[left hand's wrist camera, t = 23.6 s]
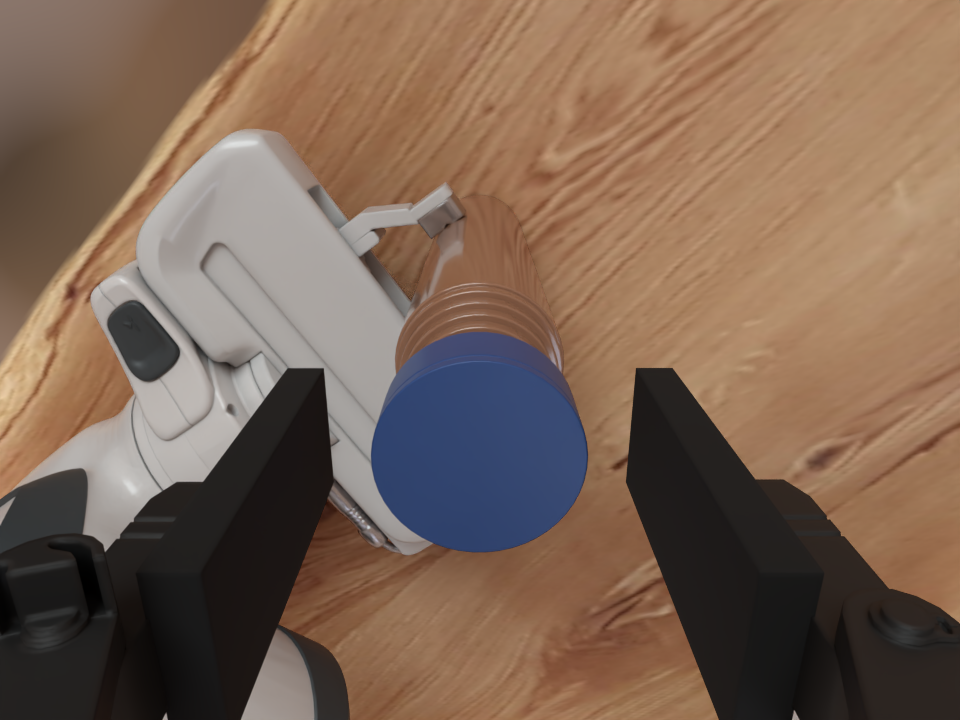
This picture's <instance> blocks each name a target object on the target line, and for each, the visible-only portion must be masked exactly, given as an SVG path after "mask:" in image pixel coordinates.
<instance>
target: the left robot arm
mask: <svg viewBox="0 0 960 720" xmlns="http://www.w3.org/2000/svg"><path fill="white" fill-rule="evenodd" d="M333 483H334V477H333V465H332V454H331V443H330V431H329V420H328V409H327V397H326V386H325V375H324V368H287V370H286V371H285V372H284V374H283V375H282V376H281V378H280V379H279V380H278V382H277V383H276V384H275V386H274V387H273V388H272V390H271V391H270V392H269V394H268V395H267V396H266V398H265V399H264V400H263V402H262V403H261V405H260V406H259V407H258V409H257V410H256V411H255V413H254V414H253V415H252V417H251V418H250V419H249V421H248V422H247V423H246V425H245V426H244V427H243V429H242V430H241V431H240V433H239V434H238V435H237V437H236V438H235V439H234V441H233V442H232V444H231V445H230V446H229V448H228V449H227V450H226V452H225V453H224V454H223V456H222V457H221V458H220V460H219V461H218V462H217V464H216V465H215V466H214V468H213V469H212V470H211V472H210V473H209V474H208V476H207V477H206V478H205V480H204V481H203V482H176V483H174V484H173V485H171V486H169V487H168V488H166V489H165V490H163V491H162V492H160V493H158V494H157V495H155V496H154V497H152V498H150V500H149V501H148V502H147V503H146V504H145V506H144V507H143V508H142V509H141V510H140V511H139V513H138V514H137V515H136V516H135V517H134V522H130V523H129V524H128V526H127V527H126V528H125V529H124V530H123V532H122V533H121V534H120V538H119V539H116V540H115V541H114V542H113V543H112V545H111V546H110V547H109V548H108V549H107V550H106V552H105V550H104V545H103V544H102V543H101V542H100V541H99V540H97V539H96V538H95V537H93V536H89V535H84V534H78V533H68V534H55V535H50V536H46V537H42V538H38V539H34V540H30V541H27V542H25V543H22V544H20V545H18V546H16V547H13V548H11V549H9V550H6V551H4V552H2V553H1V554H0V720H163V718H164V716H165V714H167V718H168V720H241V718H242V716H243V713H244V711H245V708H246V705H247V703H248V700H249V698H250V695H251V693H252V690H253V688H254V685H255V682H256V680H257V677H258V675H259V672H260V670H261V667H262V665H263V662H264V659H265V657H266V654H267V652H268V649H269V647H270V644H271V642H272V639H273V636H274V634H275V631H276V629H277V626H278V624H279V621H280V619H281V616H282V614H283V611H284V608H285V606H286V603H287V601H288V598H289V596H290V593H291V591H292V588H293V585H294V583H295V580H296V578H297V575H298V573H299V570H300V568H301V565H302V562H303V560H304V557H305V555H306V552H307V550H308V547H309V545H310V542H311V539H312V537H313V534H314V532H315V529H316V527H317V524H318V522H319V519H320V517H321V514H322V511H323V509H324V506H325V504H326V501H327V499H328V496H329V494H330V491H331V488H332V486H333ZM626 483H627V486H628V488H629V491H630V494H631V496H632V499H633V501H634V504H635V506H636V509H637V511H638V514H639V517H640V519H641V522H642V524H643V527H644V529H645V532H646V534H647V537H648V540H649V542H650V545H651V547H652V550H653V552H654V555H655V557H656V560H657V562H658V565H659V568H660V570H661V573H662V575H663V578H664V580H665V583H666V585H667V588H668V591H669V593H670V596H671V598H672V601H673V603H674V606H675V608H676V611H677V614H678V616H679V619H680V621H681V624H682V626H683V629H684V631H685V634H686V637H687V639H688V642H689V644H690V647H691V649H692V652H693V654H694V657H695V659H696V662H697V665H698V667H699V670H700V672H701V675H702V677H703V680H704V682H705V685H706V688H707V690H708V693H709V695H710V698H711V700H712V703H713V705H714V708H715V711H716V713H717V716H718V718H719V720H792V718H793V714H794V710H795V712H796V714H797V716H798V718H799V720H960V623H959V622H957V621H956V620H955V619H954V618H952V617H951V616H950V615H948V614H947V613H946V612H944V611H943V610H942V609H941V608H939V607H937V606H935V605H933V604H931V603H929V602H927V601H925V600H923V599H921V598H919V597H917V596H914V595H911V594H907V593H904V592H900V591H897V590H893V589H889V588H888V587H887V586H886V585H885V584H884V582H883V581H882V580H881V579H880V578H879V577H878V575H877V574H876V573H875V572H874V571H873V570H872V568H871V567H870V566H869V565H868V564H867V563H866V561H865V560H864V559H863V558H862V557H861V556H860V554H859V553H858V552H857V551H856V550H855V548H854V547H853V546H852V545H851V544H850V543H849V541H848V540H847V539H846V538H845V537H844V536H841V534H840V533H841V532H840V531H839V530H838V529H837V527H836V526H835V525H834V524H833V523H832V522H831V520H827V516H826V514H825V513H824V512H823V511H822V510H821V509H820V507H819V506H818V505H817V504H816V503H815V502H814V500H813V499H812V498H811V497H810V496H809V495H807V494H806V493H804V492H802V491H801V490H799V489H798V488H796V487H794V486H793V485H791V484H790V483H788V482H786V481H785V480H755V478H754V477H753V476H752V474H751V473H750V472H749V470H748V469H747V468H746V466H745V465H744V464H743V462H742V461H741V460H740V458H739V457H738V456H737V454H736V453H735V452H734V450H733V449H732V448H731V446H730V445H729V444H728V442H727V441H726V439H725V438H724V437H723V435H722V434H721V433H720V431H719V430H718V429H717V427H716V426H715V425H714V423H713V422H712V421H711V419H710V418H709V417H708V415H707V414H706V413H705V411H704V410H703V409H702V407H701V406H700V405H699V403H698V402H697V400H696V399H695V398H694V396H693V395H692V394H691V392H690V391H689V390H688V388H687V387H686V386H685V384H684V383H683V382H682V380H681V379H680V378H679V376H678V375H677V374H676V372H675V371H674V370H673V368H636V375H635V386H634V397H633V409H632V420H631V431H630V443H629V454H628V465H627V477H626Z"/></svg>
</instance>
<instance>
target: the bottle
mask: <svg viewBox="0 0 960 720" xmlns="http://www.w3.org/2000/svg"><path fill="white" fill-rule="evenodd" d="M460 202H461V203H462V205H463V206H464V208H465V209H466V211H465V212H466V213H465V214H464V215H463V216H462V217H461V218H460V219H458V220H457V221H456V222H454V223H452V224H446V225H445V228H444V230H443V231H442V232H440V233H439V234H438V235H436V236H435V237H434V239H433V242H432V245H431V248H430V250H429V253H428V256H427V259H426V262H425V264H424V267H423V270H422V273H421V276H420V279H419V281H418V284H417V287H416V290H415V293H414V295H413V298H412V301H411V304H410V307H409V310H408V312H407V315H406V318H405V321H404V324H403V326H402V329H401V332H400V335H399V338H398V342H397V346H396V352H395V370H396V374H397V373H398V371H399V370H400V369H401V368H402V366H403V365H404V364H405V363H406V362H407V361H408V360H409V359H410V358H411V357H412V356H413V355H414V354H416V353H417V352H418V351H420V350H421V349H422V348H424V347H426V346H428V345H429V344H431V343H433V342H435V341H437V340H440V339H443V338H445V337H448V336H452V335H456V334H460V333H468V332H491V333H498V334H503V335H507V336H511V337H514V338H516V339H519V340H521V341H524V342H526V343H528V344H529V345H531V346H533V347H535V348H536V349H538V350H539V351H540V352H542V353H543V354H544V355H546V356H547V357H548V358H549V359H550V360H551V361H552V362H553V363H554V364H555V365H556V367H557V368H558V369H559V370H560V372H561V373H562V374H563V368H564V354H563V347H562V343H561V339H560V336H559V333H558V330H557V327H556V325H555V322H554V319H553V316H552V313H551V310H550V308H549V305H548V302H547V299H546V296H545V293H544V291H543V288H542V285H541V282H540V279H539V277H538V274H537V271H536V268H535V265H534V262H533V260H532V257H531V254H530V251H529V248H528V245H527V243H526V240H525V237H524V234H523V231H522V229H521V226H520V223H519V220H518V218H517V217H516V215H515V213H514V212H513V211H512V210H511V208H510V207H509V206H507V205H506V204H505V203H504V202H502V201H500V200H499V199H496V198H494V197H491V196H486V195H473V196H468V197H465V198H462V199H460Z"/></svg>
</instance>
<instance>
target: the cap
mask: <svg viewBox="0 0 960 720" xmlns="http://www.w3.org/2000/svg"><path fill="white" fill-rule="evenodd" d="M587 462H588V450H587V441H586V437H585V433H584V429H583V426H582V423H581V420H580V417H579V414H578V410H577V407H576V404H575V401H574V398H573V395H572V393H571V390H570V388H569V385H568V383H567V381H566V380H565V378H564V376H563V374H562V373H561V372H560V370H559V369H558V368H557V367H556V365H555V364H554V363H553V362H552V361H551V360H550V359H549V358H548V357H547V356H546V355H544V354H543V353H542V352H540V351H539V350H538V349H536V348H535V347H533V346H531V345H529V344H528V343H526V342H524V341H521V340H519V339H516V338H514V337H511V336H507V335H503V334H498V333H491V332H468V333H460V334H456V335H452V336H448V337H445V338H443V339H440V340H437V341H435V342H433V343H431V344H429V345H428V346H426V347H424V348H422V349H421V350H420V351H418V352H417V353H416V354H414V355H413V356H412V357H411V358H410V359H409V360H408V361H407V362H406V363H405V364H404V365H403V366H402V368H401V369H400V370H399V371H398V373H397V374H396V376H395V377H394V379H393V381H392V383H391V385H390V387H389V389H388V392H387V394H386V397H385V400H384V404H383V407H382V410H381V413H380V416H379V419H378V422H377V425H376V428H375V432H374V436H373V440H372V447H371V467H372V472H373V477H374V481H375V483H376V486H377V489H378V492H379V493H380V495H381V497H382V499H383V501H384V503H385V504H386V506H387V507H388V508H389V510H390V511H391V513H392V514H393V515H394V516H395V517H396V518H397V519H398V520H399V521H400V522H401V523H402V524H403V525H404V526H406V527H407V528H408V529H409V530H410V531H412V532H414V533H415V534H417V535H418V536H420V537H421V538H423V539H425V540H427V541H430V542H432V543H434V544H437V545H440V546H442V547H445V548H449V549H454V550H458V551H466V552H493V551H500V550H505V549H510V548H513V547H516V546H519V545H522V544H525V543H527V542H529V541H531V540H533V539H535V538H537V537H539V536H540V535H542V534H544V533H545V532H547V531H548V530H549V529H551V528H552V527H553V526H554V525H556V524H557V523H558V522H559V521H560V520H561V519H562V518H563V517H564V516H565V515H566V513H567V512H568V511H569V509H570V508H571V507H572V505H573V504H574V502H575V500H576V499H577V497H578V495H579V493H580V491H581V488H582V485H583V483H584V480H585V475H586V471H587Z"/></svg>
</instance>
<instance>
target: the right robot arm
mask: <svg viewBox="0 0 960 720" xmlns="http://www.w3.org/2000/svg"><path fill="white" fill-rule="evenodd" d="M465 211H466V209H465V208H464V206H463V205H462V203H461V202H460V200H459V199H458V197H457V196H456V194H455V193H454V192H453V190H452V189H451V187H450V186H449V185H448V183H447V182H445V183H444V184H442V185H440V186H439V187H438V188H436V189H435V190H434V191H432V192H431V193H429V194H428V195H427V196H425V197H424V198H423V199H421V200H420V201H419V202H417V203H416V204H415V205H413V204H412V203H404V204H393V205H382V206H372V207H367V208H366V209H365V210H363V211H362V212H361V213H359V214H358V215H357V216H355V217H354V218H353V219H351V220H350V221H349V220H348V219H347V218H346V216H345V215H344V214H343V212H342V211H341V210H340V208H339V207H338V206H337V205H336V203H335V202H334V201H333V199H332V198H331V197H330V195H329V194H328V193H327V192H326V190H325V189H324V188H323V186H322V185H321V184H320V182H319V181H318V180H317V179H316V177H315V176H314V175H313V173H312V172H311V171H310V170H309V168H308V167H307V166H306V164H305V163H304V162H303V160H302V159H301V158H300V157H299V155H298V154H297V153H296V151H295V150H294V149H293V147H292V146H291V145H290V143H289V142H288V141H287V140H286V138H285V137H284V136H283V135H281V134H280V133H278V132H275V131H268V130H261V129H243V130H239V131H236V132H233V133H231V134H229V135H227V136H226V137H225V138H223V139H222V140H221V141H219V142H218V143H217V144H216V145H214V146H213V147H212V148H211V149H210V150H209V151H208V152H207V153H205V154H204V155H203V156H202V157H201V158H200V159H199V160H198V161H197V162H196V163H195V164H194V165H193V166H192V167H191V168H190V169H189V170H188V171H187V172H186V173H185V174H184V175H183V176H182V177H181V178H180V179H179V180H178V181H177V182H176V183H175V184H174V185H173V187H172V188H171V189H170V190H169V191H168V192H167V193H166V195H165V196H164V197H163V198H162V199H161V200H160V202H159V203H158V204H157V205H156V206H155V208H154V209H153V210H152V211H151V213H150V214H149V216H148V217H147V218H146V220H145V222H144V223H143V225H142V227H141V229H140V232H139V235H138V238H137V242H136V260H133V261H131V262H130V263H128V264H126V265H125V266H123V267H121V268H120V269H118V270H117V271H115V272H114V273H113V274H111V275H110V276H109V277H107V278H106V279H105V280H104V281H103V282H101V283H100V284H99V285H98V286H97V287H96V288H95V289H94V290H93V292H92V294H91V306H92V309H93V312H94V314H95V316H96V318H97V320H98V322H99V324H100V326H101V327H102V329H103V331H104V333H105V335H106V337H107V338H108V340H109V342H110V344H111V346H112V348H113V350H114V352H115V354H116V355H117V357H118V359H119V361H120V363H121V365H122V367H123V369H124V371H125V373H126V375H127V378H128V380H129V382H130V384H131V386H132V388H133V391H134V395H133V396H132V397H131V398H130V400H129V401H128V402H127V404H126V406H125V407H124V409H123V410H122V411H121V412H120V413H119V414H118V415H116V416H114V417H113V418H109V419H106V420H103V421H100V422H98V423H95V424H93V425H91V426H89V427H87V428H86V429H84V430H82V431H81V432H80V433H78V434H77V435H75V436H74V437H73V438H71V439H70V440H69V441H68V442H66V443H65V444H64V445H62V446H61V447H60V448H59V449H57V450H56V451H55V452H54V453H52V454H51V455H50V456H49V457H48V458H46V459H45V460H44V461H43V462H42V463H41V464H39V465H38V466H37V467H36V468H35V469H34V470H33V471H32V472H30V473H29V474H28V475H27V476H26V477H25V478H24V479H23V480H22V481H21V482H20V483H19V484H18V485H17V486H16V487H15V488H14V489H13V490H12V491H11V492H10V493H8V494H7V495H6V496H4V497H3V498H2V499H0V554H1V553H2V552H4V551H6V550H9V549H11V548H13V547H16V546H18V545H20V544H22V543H25V542H27V541H30V540H34V539H38V538H42V537H46V536H50V535H55V534H68V533H78V534H84V535H89V536H93V537H95V538H96V539H97V540H99V541H100V542H101V543H102V544H103V545H104V550H105V552H106V550H107V549H108V548H109V547H110V546H111V545H112V543H113V542H114V541H115V540H116V539H119V538H120V534H121V533H122V532H123V530H124V529H125V528H126V527H127V526H128V524H129V523H130V522H134V517H135V516H136V515H137V514H138V513H139V511H140V510H141V509H142V508H143V507H144V506H145V504H146V503H147V502H148V501H149V500H150V498H152V497H154V496H155V495H157V494H158V493H160V492H162V491H163V490H165V489H166V488H168V487H169V486H171V485H173V484H174V483H176V482H203V481H204V480H205V478H206V477H207V476H208V474H209V473H210V472H211V470H212V469H213V468H214V466H215V465H216V464H217V462H218V461H219V460H220V458H221V457H222V456H223V454H224V453H225V452H226V450H227V449H228V448H229V446H230V445H231V444H232V442H233V441H234V439H235V438H236V437H237V435H238V434H239V433H240V431H241V430H242V429H243V427H244V426H245V425H246V423H247V422H248V421H249V419H250V418H251V417H252V415H253V414H254V413H255V411H256V410H257V409H258V407H259V406H260V405H261V403H262V402H263V400H264V399H265V398H266V396H267V395H268V394H269V392H270V391H271V390H272V388H273V387H274V386H275V384H276V383H277V382H278V380H279V379H280V378H281V376H282V375H283V374H284V372H285V371H286V370H287V368H324V375H325V386H326V397H327V409H328V420H329V431H330V443H331V454H332V465H333V477H334V483H333V486H332V488H331V491H330V494H329V496H328V501H329V502H330V503H331V504H332V505H333V506H334V507H335V508H336V509H337V510H338V511H339V512H340V513H341V514H342V515H343V516H345V517H346V518H347V519H348V520H349V521H350V522H351V523H352V524H353V525H354V526H355V527H356V528H357V529H358V532H359V534H360V535H361V537H362V538H363V539H364V540H365V541H366V542H367V543H369V544H370V545H371V546H373V547H374V548H379V547H381V546H382V547H383V548H385V549H386V550H389V551H391V552H395V553H400V554H404V555H412V554H416V553H418V552H420V551H422V550H423V549H425V548H427V547H428V546H430V545H432V544H433V543H432V542H430V541H427V540H425V539H423V538H421V537H420V536H418V535H417V534H415V533H414V532H412V531H410V530H409V529H408V528H407V527H406V526H404V525H403V524H402V523H401V522H400V521H399V520H398V519H397V518H396V517H395V516H394V515H393V514H392V513H391V511H390V510H389V508H388V507H387V506H386V504H385V503H384V501H383V499H382V497H381V495H380V493H379V492H378V489H377V486H376V483H375V481H374V477H373V472H372V467H371V447H372V440H373V436H374V432H375V428H376V425H377V422H378V419H379V416H380V413H381V410H382V407H383V404H384V400H385V397H386V394H387V392H388V389H389V387H390V385H391V383H392V381H393V379H394V377H395V376H396V370H395V352H396V346H397V342H398V338H399V335H400V332H401V329H402V326H403V324H404V321H405V318H406V315H407V312H408V310H409V307H410V304H411V301H410V299H409V298H408V297H407V295H406V294H405V293H404V292H403V290H402V289H401V288H400V286H399V285H398V284H397V282H396V281H395V280H394V279H393V277H392V276H391V275H390V273H389V272H388V271H387V270H386V268H385V267H384V266H383V264H382V263H381V262H380V260H379V259H378V258H377V257H376V255H375V254H374V253H373V251H372V250H371V248H372V247H374V246H375V245H376V244H378V243H379V242H380V240H381V239H382V238H383V236H384V235H385V232H386V230H385V229H384V228H387V227H396V226H405V225H414V224H420V225H421V226H422V228H423V229H424V230H425V231H426V233H427V234H428V235H429V237H430V238H431V239H432V238H433V237H435V236H436V235H438V234H439V233H440V232H442V231H443V230H444V228H445V225H446V224H452V223H454V222H456V221H457V220H458V219H460V218H461V217H462V216H463V215H464V214H465V213H466V212H465ZM388 538H389V540H390V541H391V542H392V543H391V542H389V541H388ZM163 720H168V718H167V714H165V716H164V718H163ZM241 720H350V713H349V702H348V694H347V688H346V683H345V679H344V676H343V673H342V670H341V668H340V666H339V664H338V662H337V660H336V659H335V658H334V656H333V655H332V654H331V652H330V651H329V650H328V649H326V648H325V647H324V646H322V645H321V644H319V643H317V642H315V641H313V640H311V639H308V638H306V637H304V636H302V635H300V634H298V633H295V632H293V631H291V630H289V629H287V628H285V627H283V626H280V625H278V626H277V629H276V631H275V634H274V636H273V639H272V642H271V644H270V647H269V649H268V652H267V654H266V657H265V659H264V662H263V665H262V667H261V670H260V672H259V675H258V677H257V680H256V682H255V685H254V688H253V690H252V693H251V695H250V698H249V700H248V703H247V705H246V708H245V711H244V713H243V716H242V718H241ZM792 720H799V718H798V716H797V714H796V712H795V710H794V714H793V718H792Z"/></svg>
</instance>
